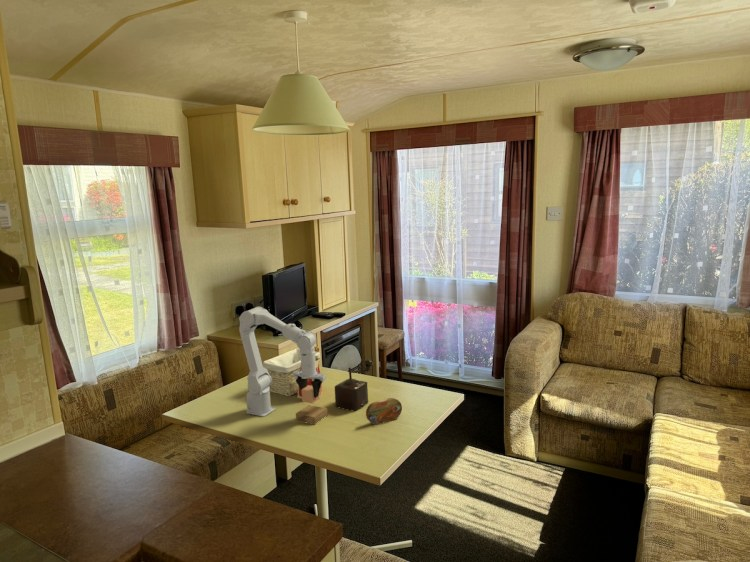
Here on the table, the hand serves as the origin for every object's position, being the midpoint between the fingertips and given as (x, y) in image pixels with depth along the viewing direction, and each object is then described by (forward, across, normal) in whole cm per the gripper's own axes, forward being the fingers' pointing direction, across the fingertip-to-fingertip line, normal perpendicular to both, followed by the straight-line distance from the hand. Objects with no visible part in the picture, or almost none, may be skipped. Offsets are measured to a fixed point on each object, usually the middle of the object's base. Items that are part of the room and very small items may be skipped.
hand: (310, 395), depth 206 cm
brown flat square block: (+9, 0, 0) cm, 9 cm away
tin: (+10, +28, +9) cm, 31 cm away
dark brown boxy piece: (+10, +9, +20) cm, 24 cm away
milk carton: (+10, -14, +20) cm, 26 cm away
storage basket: (+10, -28, +26) cm, 39 cm away
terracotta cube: (+2, 0, 0) cm, 2 cm away
